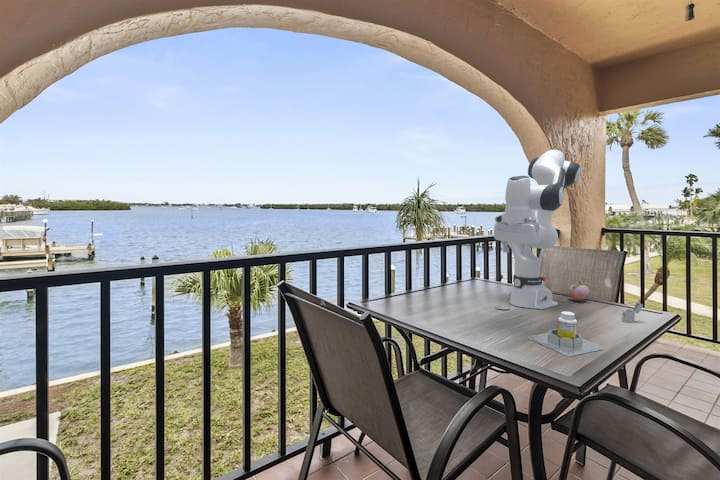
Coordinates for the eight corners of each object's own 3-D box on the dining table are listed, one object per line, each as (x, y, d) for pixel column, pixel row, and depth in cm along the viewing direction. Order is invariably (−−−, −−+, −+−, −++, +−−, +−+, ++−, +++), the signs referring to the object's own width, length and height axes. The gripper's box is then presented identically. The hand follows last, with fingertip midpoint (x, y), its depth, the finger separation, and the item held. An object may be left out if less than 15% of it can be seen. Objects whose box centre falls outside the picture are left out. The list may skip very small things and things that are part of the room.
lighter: (624, 322, 144) (626, 303, 143) (621, 321, 145) (623, 302, 145) (641, 322, 144) (643, 303, 143) (638, 321, 146) (639, 302, 145)
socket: (560, 333, 132) (561, 322, 131) (603, 349, 117) (604, 337, 116) (528, 338, 126) (528, 327, 126) (568, 356, 111) (569, 344, 111)
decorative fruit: (574, 298, 181) (575, 279, 180) (591, 301, 174) (592, 282, 173) (564, 300, 176) (565, 281, 175) (581, 304, 169) (582, 284, 168)
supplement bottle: (564, 337, 124) (565, 309, 123) (579, 343, 119) (581, 314, 118) (553, 340, 122) (555, 311, 121) (568, 346, 117) (570, 316, 116)
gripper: (545, 219, 126) (543, 257, 127) (504, 217, 145) (502, 250, 146) (532, 219, 124) (530, 258, 125) (491, 217, 143) (490, 251, 144)
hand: (515, 254), depth 136 cm, fingers open, 8 cm apart
